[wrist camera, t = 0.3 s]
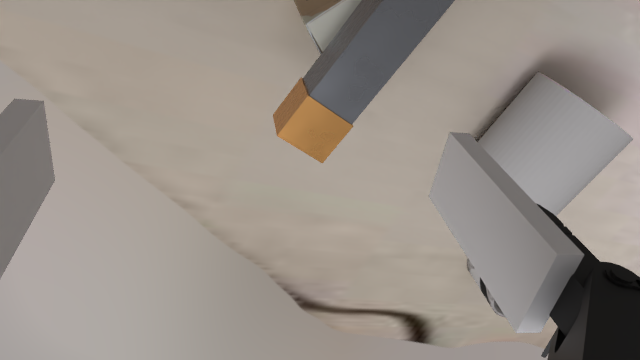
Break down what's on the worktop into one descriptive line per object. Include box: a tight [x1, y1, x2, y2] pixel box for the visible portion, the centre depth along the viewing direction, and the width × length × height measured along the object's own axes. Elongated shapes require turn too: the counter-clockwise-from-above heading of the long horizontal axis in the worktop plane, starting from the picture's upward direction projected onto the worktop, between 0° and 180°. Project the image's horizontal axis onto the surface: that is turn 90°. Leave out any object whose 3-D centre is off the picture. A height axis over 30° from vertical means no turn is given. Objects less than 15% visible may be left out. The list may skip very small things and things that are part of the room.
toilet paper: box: [478, 72, 633, 216], centre depth 45 cm, size 10×10×10 cm
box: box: [294, 0, 362, 54], centre depth 35 cm, size 5×4×11 cm
